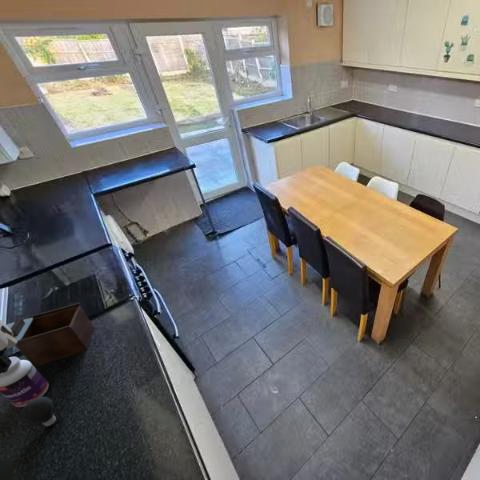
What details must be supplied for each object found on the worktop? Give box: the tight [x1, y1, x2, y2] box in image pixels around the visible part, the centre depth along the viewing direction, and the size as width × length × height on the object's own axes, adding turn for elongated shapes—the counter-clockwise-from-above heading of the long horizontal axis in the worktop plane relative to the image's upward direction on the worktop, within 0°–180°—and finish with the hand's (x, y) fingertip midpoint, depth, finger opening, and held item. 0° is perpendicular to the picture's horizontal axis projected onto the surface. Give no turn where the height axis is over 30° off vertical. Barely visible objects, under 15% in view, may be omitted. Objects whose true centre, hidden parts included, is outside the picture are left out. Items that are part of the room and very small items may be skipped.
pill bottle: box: [0, 356, 50, 408], centre depth 79 cm, size 8×8×14 cm
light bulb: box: [21, 396, 57, 427], centre depth 73 cm, size 6×6×10 cm
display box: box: [15, 302, 95, 368], centre depth 95 cm, size 15×13×13 cm
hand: (4, 368), depth 66 cm, fingers closed
